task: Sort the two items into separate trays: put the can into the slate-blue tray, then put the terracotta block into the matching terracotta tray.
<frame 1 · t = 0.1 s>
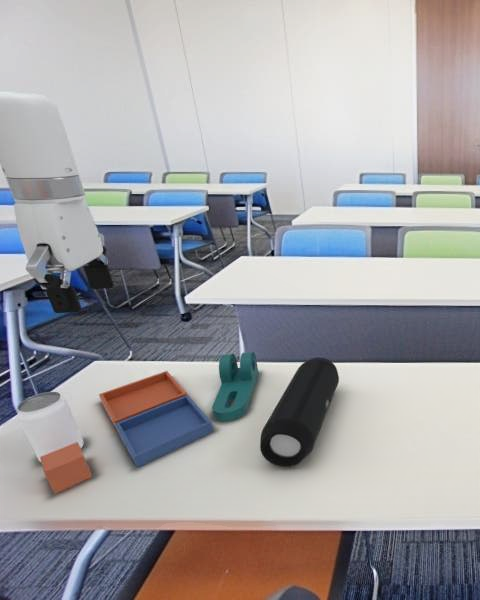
hand: (86, 299, 63), 33 cm above the table, tool pointing down, fingers open, 9 cm apart
blue tray: (166, 432, 82), on the table
can: (62, 452, 76), on the table
block: (71, 477, 71), on the table
portable speaker: (306, 425, 86), on the table
terracotta tray: (145, 402, 90), on the table
bracket: (236, 396, 94), on the table
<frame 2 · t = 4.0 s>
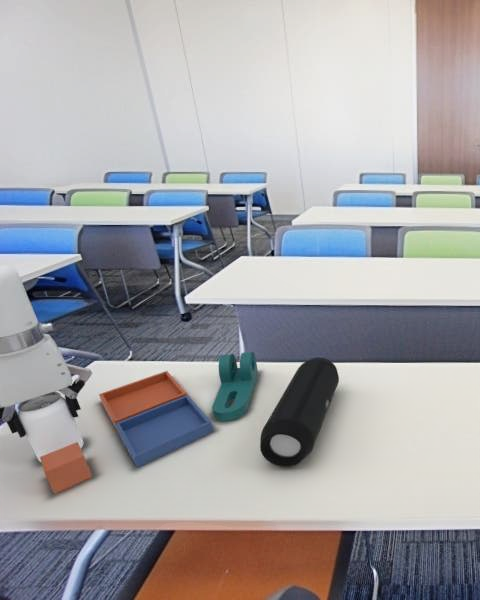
hand: (49, 422, 74), 7 cm above the table, tool pointing down, fingers closed on can, 6 cm apart
can: (62, 452, 76), on the table, touching gripper
everything else where it was.
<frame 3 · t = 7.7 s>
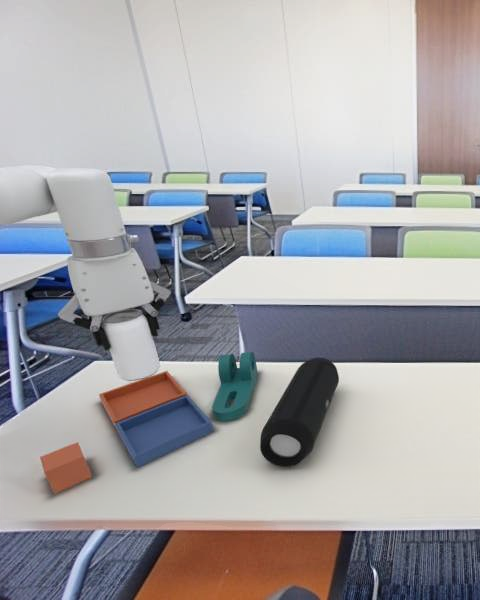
hand: (130, 339, 73), 22 cm above the table, tool pointing down, fingers closed on can, 6 cm apart
can: (140, 373, 76), point 15 cm above the table, touching gripper
everything else where it was.
when the fingers open (8 cm above the table, at t = 11.4 s): can stays where it is, resting on blue tray.
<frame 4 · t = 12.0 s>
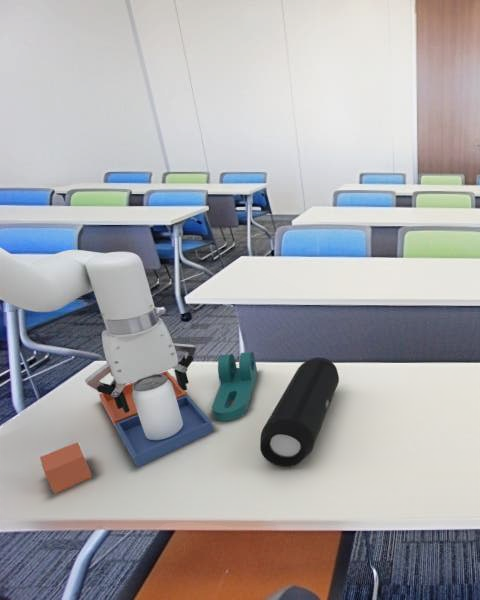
hand: (155, 397, 79), 9 cm above the table, tool pointing down, fingers open, 9 cm apart
can: (165, 431, 82), resting on blue tray
everything else where it was.
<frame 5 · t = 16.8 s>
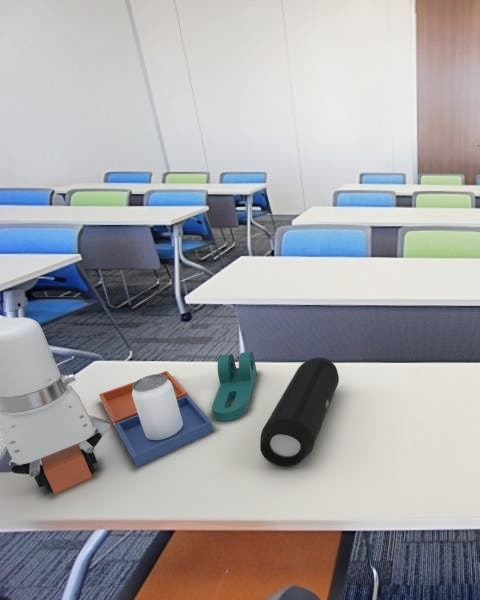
hand: (70, 475, 71), 0 cm above the table, tool pointing down, fingers closed on block, 5 cm apart
block: (71, 477, 71), on the table, touching gripper
everything else where it was.
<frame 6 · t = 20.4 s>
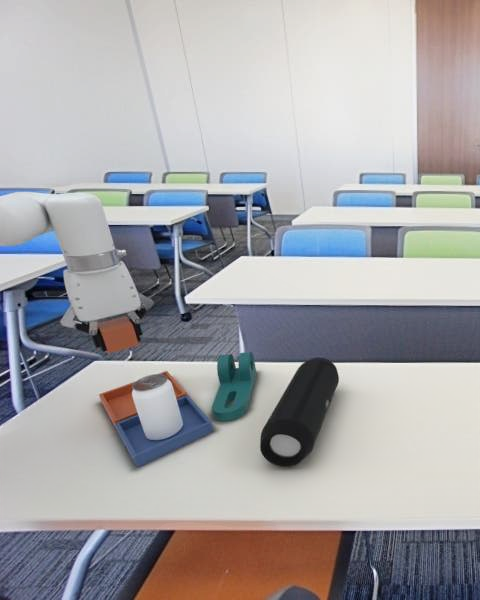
hand: (120, 343, 82), 16 cm above the table, tool pointing down, fingers closed on block, 5 cm apart
block: (121, 345, 83), point 16 cm above the table, touching gripper
everything else where it was.
when the fingers open (1 cm above the table, at t = 24.4 s): block stays where it is, resting on terracotta tray.
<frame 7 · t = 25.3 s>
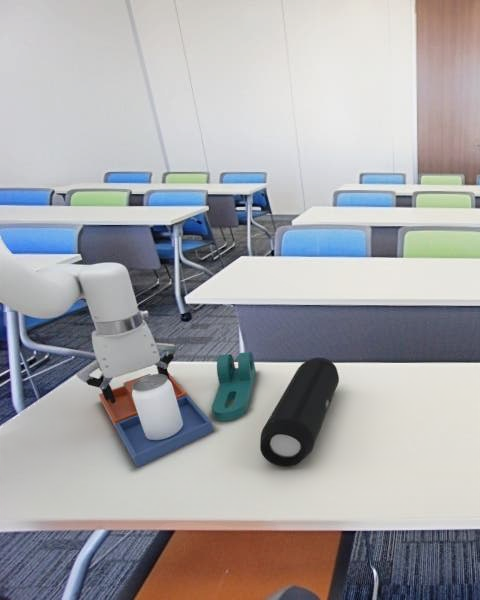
hand: (139, 390, 89), 3 cm above the table, tool pointing down, fingers open, 9 cm apart
block: (145, 400, 90), resting on terracotta tray
everything else where it was.
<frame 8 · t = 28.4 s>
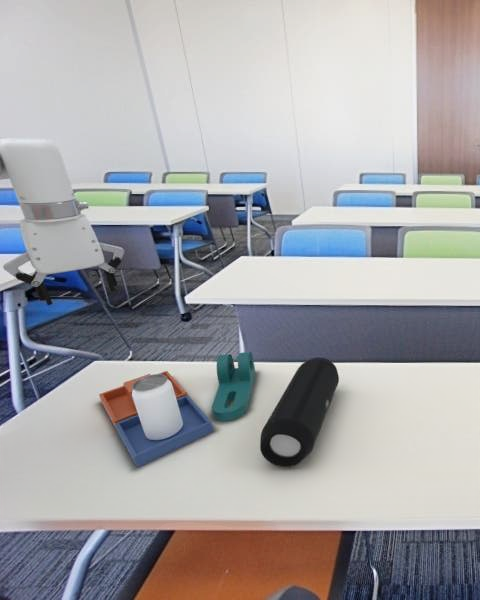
hand: (81, 296, 80), 26 cm above the table, tool pointing down, fingers open, 9 cm apart
nothing on the table moved.
at the end: can inside the target area in the blue tray (0.1 cm from its centre), point 0.3 cm above the blue tray's base; can tilted 0°; block inside the target area in the terracotta tray (0.1 cm from its centre), point 0.5 cm above the terracotta tray's base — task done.
